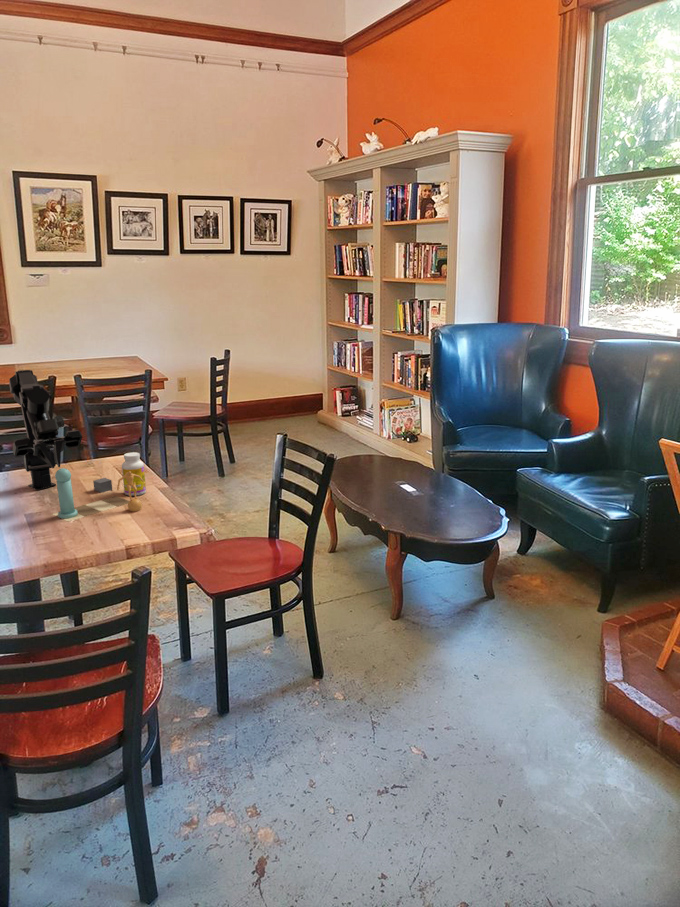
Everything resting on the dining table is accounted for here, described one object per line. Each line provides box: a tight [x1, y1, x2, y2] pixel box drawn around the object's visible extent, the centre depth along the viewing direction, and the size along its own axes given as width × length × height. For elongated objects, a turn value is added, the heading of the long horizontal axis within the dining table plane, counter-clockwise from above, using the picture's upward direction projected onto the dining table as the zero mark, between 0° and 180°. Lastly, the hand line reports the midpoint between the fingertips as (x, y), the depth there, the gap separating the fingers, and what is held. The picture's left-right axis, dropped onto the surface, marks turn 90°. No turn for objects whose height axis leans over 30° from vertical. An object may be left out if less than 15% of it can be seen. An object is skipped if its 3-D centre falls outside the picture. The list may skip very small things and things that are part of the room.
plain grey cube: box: [92, 477, 113, 494], centre depth 217 cm, size 4×4×4 cm
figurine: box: [116, 471, 146, 513], centre depth 199 cm, size 8×6×12 cm
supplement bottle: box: [121, 451, 147, 497], centre depth 215 cm, size 7×7×13 cm
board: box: [51, 495, 130, 523], centre depth 202 cm, size 10×21×1 cm, turn 139°
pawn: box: [54, 467, 78, 520], centre depth 194 cm, size 5×5×14 cm
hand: (56, 467), depth 198 cm, fingers closed
